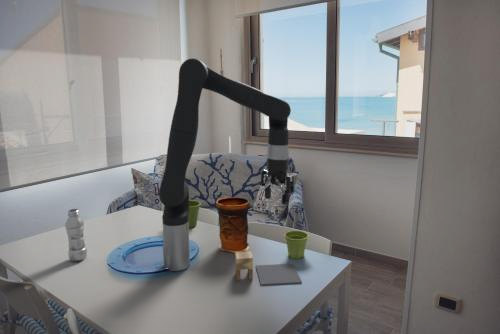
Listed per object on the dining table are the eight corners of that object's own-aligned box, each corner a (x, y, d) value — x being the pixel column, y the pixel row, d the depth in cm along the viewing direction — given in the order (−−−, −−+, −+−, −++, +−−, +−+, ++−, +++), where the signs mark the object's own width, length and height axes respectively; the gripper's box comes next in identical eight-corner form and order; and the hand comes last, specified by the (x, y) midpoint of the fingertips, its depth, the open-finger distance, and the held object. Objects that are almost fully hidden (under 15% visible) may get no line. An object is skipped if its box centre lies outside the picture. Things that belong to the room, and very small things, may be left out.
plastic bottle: (91, 257, 148) (86, 208, 144) (76, 264, 142) (71, 214, 138) (79, 254, 150) (74, 206, 147) (64, 261, 144) (59, 211, 141)
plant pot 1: (190, 231, 175) (189, 208, 173) (171, 226, 182) (170, 204, 179) (206, 224, 185) (205, 202, 183) (188, 220, 191) (187, 198, 189)
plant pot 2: (307, 261, 143) (307, 240, 142) (282, 259, 145) (283, 238, 144) (308, 251, 152) (309, 231, 151) (285, 249, 154) (285, 229, 153)
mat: (260, 285, 126) (260, 284, 125) (255, 266, 139) (255, 265, 139) (301, 283, 127) (301, 281, 127) (292, 264, 141) (292, 263, 141)
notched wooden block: (236, 280, 129) (236, 258, 127) (235, 273, 134) (235, 252, 133) (252, 279, 130) (252, 258, 128) (251, 272, 135) (250, 251, 133)
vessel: (209, 250, 154) (209, 203, 150) (225, 238, 167) (224, 195, 164) (242, 256, 149) (242, 207, 145) (255, 243, 162) (255, 198, 158)
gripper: (256, 155, 136) (255, 198, 139) (285, 161, 125) (283, 207, 128) (271, 153, 141) (269, 195, 144) (300, 158, 130) (297, 203, 133)
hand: (276, 201), depth 136 cm, fingers open, 8 cm apart
